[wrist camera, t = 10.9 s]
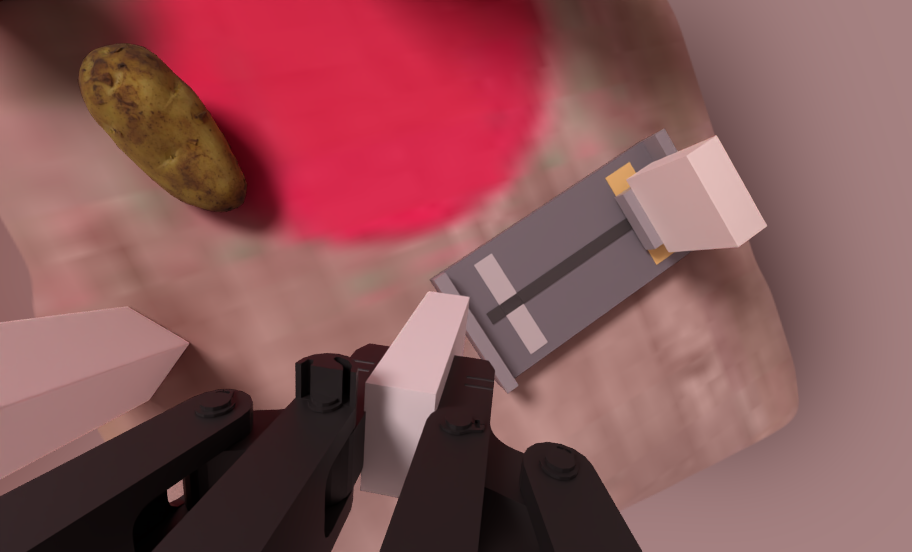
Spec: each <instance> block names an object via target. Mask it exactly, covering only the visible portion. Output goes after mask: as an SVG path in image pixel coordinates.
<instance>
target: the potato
mask: <svg viewBox="0 0 912 552" xmlns="http://www.w3.org/2000/svg"><path fill="white" fill-rule="evenodd" d="M78 83H79V87H80V91H81V94H82V97H83V99H84V102H85V104H86V106H87V108H88V110H89V112H90V113H91V115H92V117H93V118H94V119H95V120H96V122H97V123H98V124H99V125H100V126H101V127H102V128H103V129H104V130H105V132H106V133H107V134H108V135H109V136H110V137H111V138H112V139H113V141H114V142H115V143H116V145H117V146H118V147H119V148H120V149H121V150H122V151H123V152H124V153H125V154H126V155H127V156H128V157H129V158H130V159H131V160H132V161H134V163H135V164H136V165H137V166H138V167H140V168H141V169H142V170H143V171H144V172H145V173H146V174H147V175H148V176H149V177H150V178H151V179H152V180H153V181H155V182H156V183H157V184H158V185H160V186H161V187H162V188H163V189H164V190H166V191H167V192H168V193H170V194H171V195H172V196H174V197H175V198H177V199H179V200H180V201H182V202H185V203H187V204H190V205H193V206H196V207H199V208H202V209H206V210H210V211H217V212H227V211H230V210H232V209H235V208H238V207H239V206H240V205H242V204H243V203H244V199H245V196H246V189H247V182H246V180H245V177H244V174H243V173H242V170H241V168H240V167H239V165H238V161H237V159H236V157H235V156H234V155H233V154H232V152H231V149H230V145H229V143H228V142H227V140H226V138H225V136H224V134H223V133H222V132H221V131H220V129H219V128H218V126H217V124H216V123H215V121H214V120H213V118H212V116H211V114H210V113H209V111H208V110H207V109H206V107H205V106H204V104H203V103H202V102H201V100H200V99H199V97H198V96H197V95H196V93H195V92H194V91H193V90H192V89H191V88H190V87H189V86H188V85H187V84H186V83H185V82H184V81H182V80H181V79H180V78H179V77H178V76H177V75H176V74H175V73H174V72H173V71H172V70H171V69H170V68H169V67H168V66H167V65H166V64H165V63H164V62H163V61H162V60H161V59H159V58H158V57H157V55H155V54H154V53H152V52H151V51H149V50H148V49H146V48H145V47H142V46H138V45H133V44H128V43H121V44H113V45H108V46H104V47H100V48H97V49H95V50H93V51H91V52H90V53H89V54H88V55H87V56H86V57H85V58H84V59H83V61H82V65H81V68H80V71H79V79H78Z"/></svg>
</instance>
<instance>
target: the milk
mask: <svg viewBox="0 0 912 552" xmlns="http://www.w3.org/2000/svg"><path fill="white" fill-rule="evenodd" d="M188 345H189V342H188V341H186V340H184V339H182V338H181V337H179V336H177V335H176V334H174V333H172V332H171V331H169V330H167V329H165V328H164V327H162V326H160V325H159V324H157V323H155V322H154V321H152V320H150V319H148V318H147V317H145V316H143V315H142V314H140V313H138V312H136V311H135V310H133V309H131V308H130V307H119V308H111V309H103V310H95V311H87V312H79V313H71V314H63V315H55V316H47V317H40V318H32V319H24V320H16V321H8V322H0V479H2V478H4V477H6V476H7V475H9V474H11V473H13V472H15V471H17V470H19V469H21V468H23V467H24V466H26V465H28V464H30V463H32V462H33V461H35V460H37V459H40V458H41V457H43V456H45V455H47V454H49V453H51V452H53V451H54V450H57V449H58V448H60V447H62V446H64V445H66V444H68V443H70V442H72V441H73V440H75V439H77V438H79V437H81V436H83V435H85V434H86V433H89V432H91V431H92V430H94V429H96V428H98V427H100V426H102V425H104V424H106V423H107V422H109V421H111V420H113V419H115V418H117V417H119V416H121V415H123V414H124V413H126V412H128V411H130V410H132V409H134V408H136V407H138V406H140V405H141V404H143V403H145V402H147V401H149V400H150V399H151V397H152V396H153V394H154V393H155V391H156V390H157V389H158V387H159V386H160V384H161V383H162V382H163V380H164V379H165V377H166V376H167V375H168V373H169V372H170V370H171V369H172V367H173V366H174V365H175V363H176V362H177V360H178V359H179V358H180V356H181V355H182V353H183V352H184V351H185V349H186V348H187V346H188Z"/></svg>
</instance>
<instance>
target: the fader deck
mask: <svg viewBox="0 0 912 552" xmlns="http://www.w3.org/2000/svg"><path fill="white" fill-rule="evenodd" d="M676 152H678V151H677V150H676V148H675V146H674V144H673V143H672V141H671V139H670V137H669V135H668V134H667V132H666V130H665V128H664V129H662V130H661V131H659V132H657V133H655V134H653V135H651V136H649V137H647V138H645V139H643V140H642V141H640V142H638V143H637V144H635V145H634V146H632V147H630V148H629V149H627V150H626V151H624V152H623V153H621V154H620V155H618V156H617V157H615V158H614V159H612V160H611V161H609V162H608V163H606V164H605V165H603V166H602V167H600V168H599V169H597V170H596V171H594V172H592V173H591V174H589V175H588V176H586V177H585V178H583V179H582V180H580V181H579V182H577V183H576V184H574V185H573V186H571V187H570V188H568V189H567V190H565V191H564V192H562V193H561V194H559V195H558V196H556V197H554V198H553V199H551V200H550V201H548V202H547V203H545V204H544V205H542V206H541V207H539V208H538V209H536V210H535V211H533V212H532V213H530V214H529V215H527V216H526V217H524V218H523V219H521V220H520V221H518V222H516V223H515V224H513V225H512V226H510V227H509V228H507V229H506V230H504V231H503V232H501V233H500V234H498V235H497V236H495V237H494V238H492V239H491V240H489V241H488V242H486V243H485V244H483V245H482V246H480V247H478V248H477V249H475V250H474V251H472V252H471V253H469V254H468V255H466V256H465V257H463V258H462V259H460V260H459V261H457V262H456V263H454V264H453V265H451V266H450V267H448V268H447V269H445V270H444V271H442V272H440V273H439V274H437V275H436V276H434V277H433V278H431V279H430V281H431V283H432V284H433V286H434V287H435V289H436V290H437V292H438V293H445V294H452V295H460V296H467V297H470V299H469V308H468V316H467V325H466V334H465V335H466V336H467V338H468V339H469V341H470V342H471V344H472V345H473V347H474V348H475V350H476V352H477V353H478V355H479V356H480V358H481V359H482V360H489V362H490V363H491V365H492V366H493V368H494V369H495V377H494V379H495V381H496V382H497V383H498V384H499V385H500V386H501V387H502V388H503V389H504V390H505V391H506V392H507V393H509V392H511V391H512V390H513V389H515V388H516V387H517V386H519V385H518V384H517V382H516V381H515V379H514V378H516V377H517V376H518V375H520V374H521V373H523V372H524V371H525V370H527V369H528V368H530V367H531V366H532V365H534V364H535V363H537V362H538V361H539V360H541V359H542V358H544V357H545V356H546V355H548V354H549V353H551V352H552V351H553V350H555V349H556V348H558V347H559V346H560V345H562V344H563V343H565V342H566V341H567V340H569V339H570V338H571V337H573V336H574V335H576V334H577V333H578V332H580V331H581V330H583V329H584V328H585V327H587V326H588V325H590V324H591V323H592V322H594V321H595V320H597V319H598V318H599V317H601V316H602V315H604V314H605V313H606V312H608V311H609V310H611V309H612V308H613V307H615V306H616V305H618V304H619V303H620V302H622V301H623V300H625V299H626V298H627V297H629V296H630V295H632V294H633V293H634V292H636V291H637V290H639V289H640V288H641V287H643V286H644V285H645V284H647V283H648V282H650V281H651V280H652V279H654V278H655V277H657V276H658V275H659V274H661V273H662V272H664V271H665V270H666V269H668V268H669V267H671V266H672V265H673V264H675V263H676V262H678V261H679V260H680V259H682V258H683V257H685V256H686V255H687V254H689V253H690V252H692V251H680V252H668V250H667V249H666V247H665V245H664V244H662V245H660V246H659V247H658V248H656V249H651V250H645V248H644V246H643V245H642V243H641V241H640V240H639V238H638V236H637V235H636V233H635V231H634V230H633V228H632V226H631V225H630V223H629V221H628V219H627V218H626V216H625V214H624V213H623V211H622V209H621V208H620V206H619V204H618V203H617V201H616V199H615V198H614V197H616V196H617V195H619V194H620V193H622V192H623V191H625V190H626V189H628V188H629V187H630V186H629V184H628V182H627V181H626V179H628V178H629V177H631V176H632V175H634V174H635V173H637V172H638V171H640V170H641V169H643V168H644V167H646V166H647V165H649V164H650V163H652V162H654V161H657V160H659V159H662V158H664V157H666V156H669V155H671V154H673V153H676Z"/></svg>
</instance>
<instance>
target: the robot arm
mask: <svg viewBox="0 0 912 552" xmlns="http://www.w3.org/2000/svg"><path fill="white" fill-rule="evenodd" d="M469 299H470V297H467V296H460V295H452V294H445V293H438V292H431V291H428V292H427V294H426V295H425V297H424V298H423V300H422V301H421V302H420V304H419V305H418V307H417V308H416V310H415V311H414V313H413V314H412V316H411V317H410V318H409V320H408V321H407V323H406V324H405V326H404V327H403V329H402V330H401V331H400V333H399V334H398V336H397V337H396V339H395V340H394V342H393V343H392V345H391V346H390V347H389V346H383V345H376V344H367V345H365V346H363V347H361V348H359V349H357V350H356V351H355V352H354V353H353V354H352V356H351V357H348V356H344V355H341V354H332V353H324V354H315V355H311V356H308V357H305V358H303V359H301V360H299V361H298V362H296V363H295V371H296V398H295V399H294V400H293V401H292V402H291V403H290V404H289V405H288V406H287V407H286V409H280V410H255V411H253V402H252V399H251V397H250V395H248V394H246V393H245V392H243V391H238V390H233V389H225V390H224V389H218V390H215V391H210V392H205V393H203V394H200V395H198V396H195V397H193V398H191V399H189V400H187V401H185V402H183V403H181V404H179V405H177V406H175V407H173V408H171V409H169V410H167V411H165V412H163V413H161V414H159V415H157V416H156V417H154V418H152V419H150V420H148V421H146V422H144V423H142V424H140V425H138V426H136V427H134V428H132V429H130V430H128V431H126V432H124V433H122V434H121V435H119V436H117V437H115V438H113V439H111V440H109V441H107V442H105V443H103V444H101V445H99V446H97V447H95V448H93V449H91V450H89V451H87V452H86V453H84V454H82V455H80V456H78V457H76V458H74V459H72V460H70V461H68V462H66V463H64V464H62V465H60V466H58V467H56V468H55V469H52V470H51V471H49V472H47V473H45V474H43V475H41V476H39V477H37V478H35V479H33V480H31V481H29V482H27V483H25V484H24V485H21V486H19V487H18V488H16V489H14V490H12V491H10V492H8V493H6V494H4V495H2V496H0V552H331V550H332V548H333V546H334V544H335V542H336V540H337V538H338V536H339V534H340V531H341V529H342V527H343V525H344V523H345V521H346V519H347V517H348V515H349V512H350V510H351V507H352V503H353V488H354V485H355V483H356V481H357V479H358V477H359V475H360V473H361V486H360V490H361V491H366V492H371V493H376V494H381V495H387V496H392V497H397V498H399V499H398V501H397V504H396V507H395V510H394V513H393V515H392V518H391V521H390V524H389V527H388V530H387V532H386V535H385V538H384V541H383V544H382V547H381V549H380V552H642V550H641V548H640V547H639V545H638V543H637V541H636V540H635V538H634V536H633V535H632V533H631V531H630V529H629V528H628V526H627V524H626V522H625V521H624V519H623V517H622V516H621V514H620V512H619V510H618V509H617V507H616V505H615V503H614V502H613V500H612V498H611V496H610V495H609V493H608V491H607V489H606V488H605V486H604V484H603V483H602V481H601V479H600V477H599V476H598V474H597V472H596V470H595V469H594V467H593V465H592V464H591V463H590V462H589V461H588V460H587V458H586V457H585V456H583V455H582V454H580V453H579V452H577V451H576V450H575V449H573V448H570V447H567V446H565V445H562V444H558V443H551V442H544V443H536V444H534V445H532V446H530V447H529V448H527V450H526V452H525V453H522V452H519V451H517V450H515V449H513V448H511V447H509V446H507V445H505V444H504V443H502V442H501V441H500V440H499V439H498V438H497V437H496V436H495V435H494V434H493V432H492V430H491V427H490V417H491V407H492V397H493V387H494V377H495V369H494V368H493V366H492V365H491V363H490V362H489V360H482V359H476V358H469V357H463V351H464V343H465V334H466V325H467V316H468V308H469ZM182 479H183V489H184V495H183V496H181V497H180V498H178V499H176V500H174V501H172V502H170V503H169V501H168V497H167V489H169V488H170V487H172V486H173V485H175V484H176V483H178V482H179V481H180V480H182Z"/></svg>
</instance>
